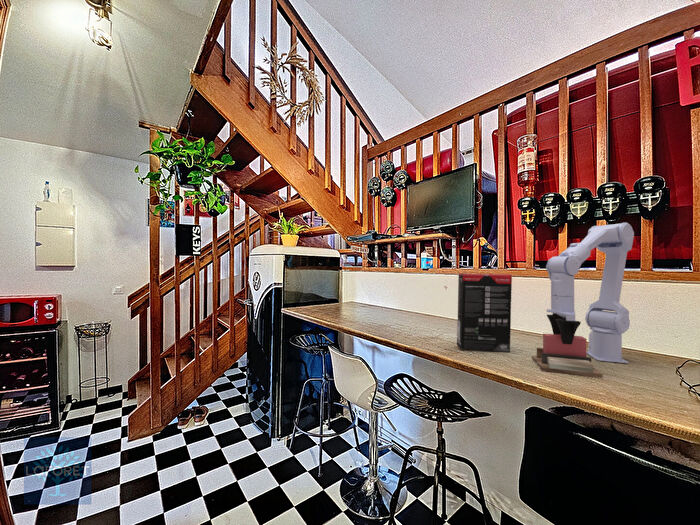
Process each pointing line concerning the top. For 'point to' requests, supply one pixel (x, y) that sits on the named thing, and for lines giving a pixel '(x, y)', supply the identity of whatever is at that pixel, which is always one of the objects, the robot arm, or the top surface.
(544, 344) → the red rectangular block
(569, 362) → the rack
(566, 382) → the top surface
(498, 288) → the graphics card box
